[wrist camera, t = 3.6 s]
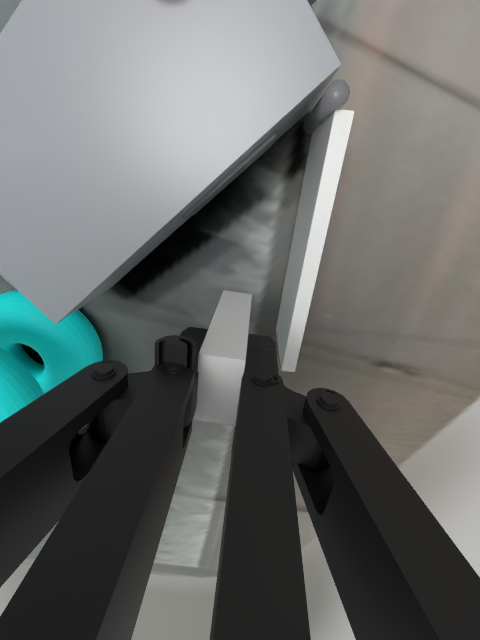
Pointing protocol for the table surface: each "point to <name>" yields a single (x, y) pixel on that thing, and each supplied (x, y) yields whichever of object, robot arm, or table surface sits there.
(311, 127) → the side door
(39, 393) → the donuts
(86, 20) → the grey boxy piece
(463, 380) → the table surface
